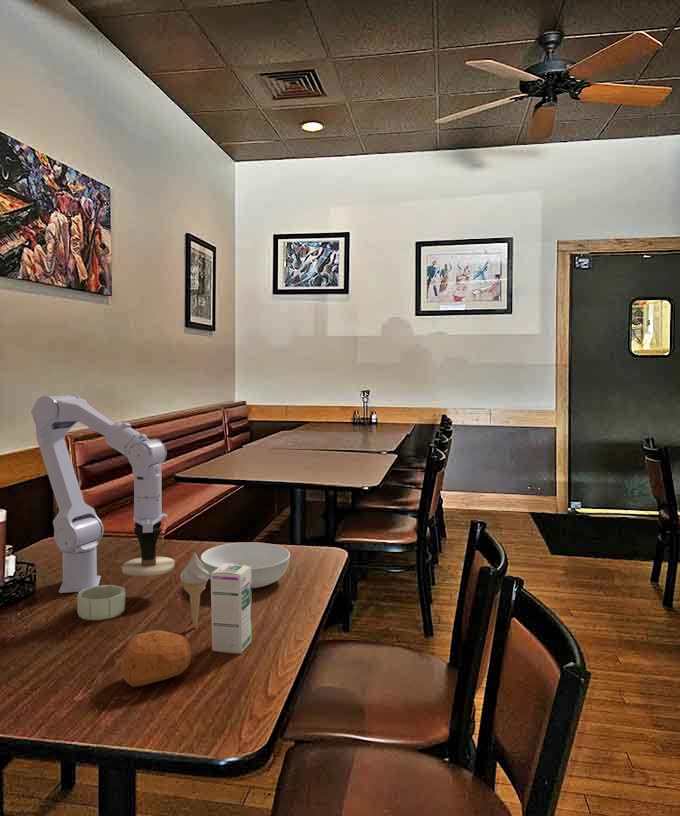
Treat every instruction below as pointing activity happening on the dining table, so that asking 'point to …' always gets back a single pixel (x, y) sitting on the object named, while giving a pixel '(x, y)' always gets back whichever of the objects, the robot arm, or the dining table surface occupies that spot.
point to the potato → (155, 657)
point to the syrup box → (231, 608)
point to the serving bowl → (250, 560)
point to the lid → (148, 566)
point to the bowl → (101, 602)
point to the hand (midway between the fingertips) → (148, 557)
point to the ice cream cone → (194, 583)
